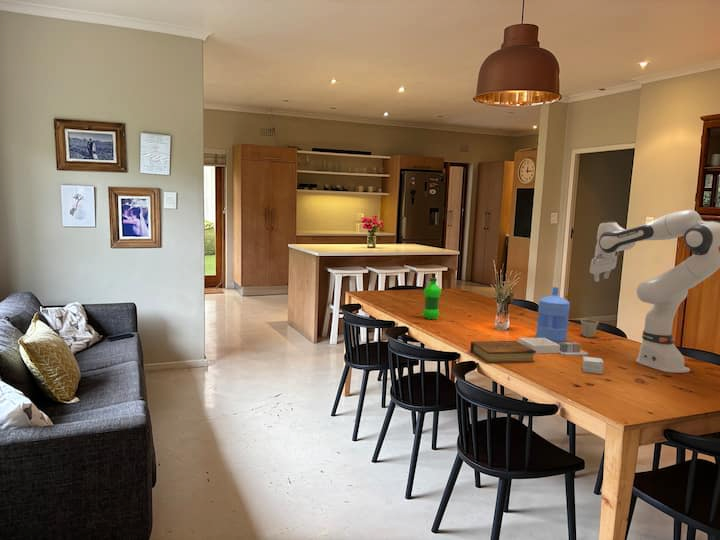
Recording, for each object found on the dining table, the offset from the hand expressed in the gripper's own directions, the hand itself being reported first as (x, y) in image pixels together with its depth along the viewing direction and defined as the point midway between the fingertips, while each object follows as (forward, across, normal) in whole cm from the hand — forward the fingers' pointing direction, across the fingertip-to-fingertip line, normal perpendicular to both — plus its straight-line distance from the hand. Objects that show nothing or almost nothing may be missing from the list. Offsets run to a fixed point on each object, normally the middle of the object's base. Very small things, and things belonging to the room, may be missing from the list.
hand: (601, 279), depth 267 cm
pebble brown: (+31, -26, -3) cm, 40 cm away
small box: (+28, -47, -23) cm, 60 cm away
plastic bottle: (+38, -33, +86) cm, 99 cm away
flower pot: (+37, +13, +10) cm, 41 cm away
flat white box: (+31, -39, +8) cm, 51 cm away
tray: (+31, -29, -2) cm, 43 cm away
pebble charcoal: (+31, -32, 0) cm, 44 cm away
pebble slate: (+31, -29, -2) cm, 42 cm away
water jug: (+35, -12, +17) cm, 41 cm away
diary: (+29, -65, +11) cm, 72 cm away
